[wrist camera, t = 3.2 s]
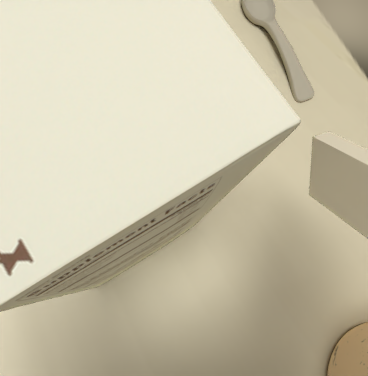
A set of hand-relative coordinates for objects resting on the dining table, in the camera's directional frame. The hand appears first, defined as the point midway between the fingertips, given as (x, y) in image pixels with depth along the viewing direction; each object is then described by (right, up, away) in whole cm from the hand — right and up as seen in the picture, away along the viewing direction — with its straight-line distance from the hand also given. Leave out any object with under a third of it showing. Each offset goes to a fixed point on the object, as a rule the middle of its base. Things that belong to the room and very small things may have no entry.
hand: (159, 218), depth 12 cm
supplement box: (-4, 0, +13) cm, 13 cm away
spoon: (+9, +14, +19) cm, 25 cm away
